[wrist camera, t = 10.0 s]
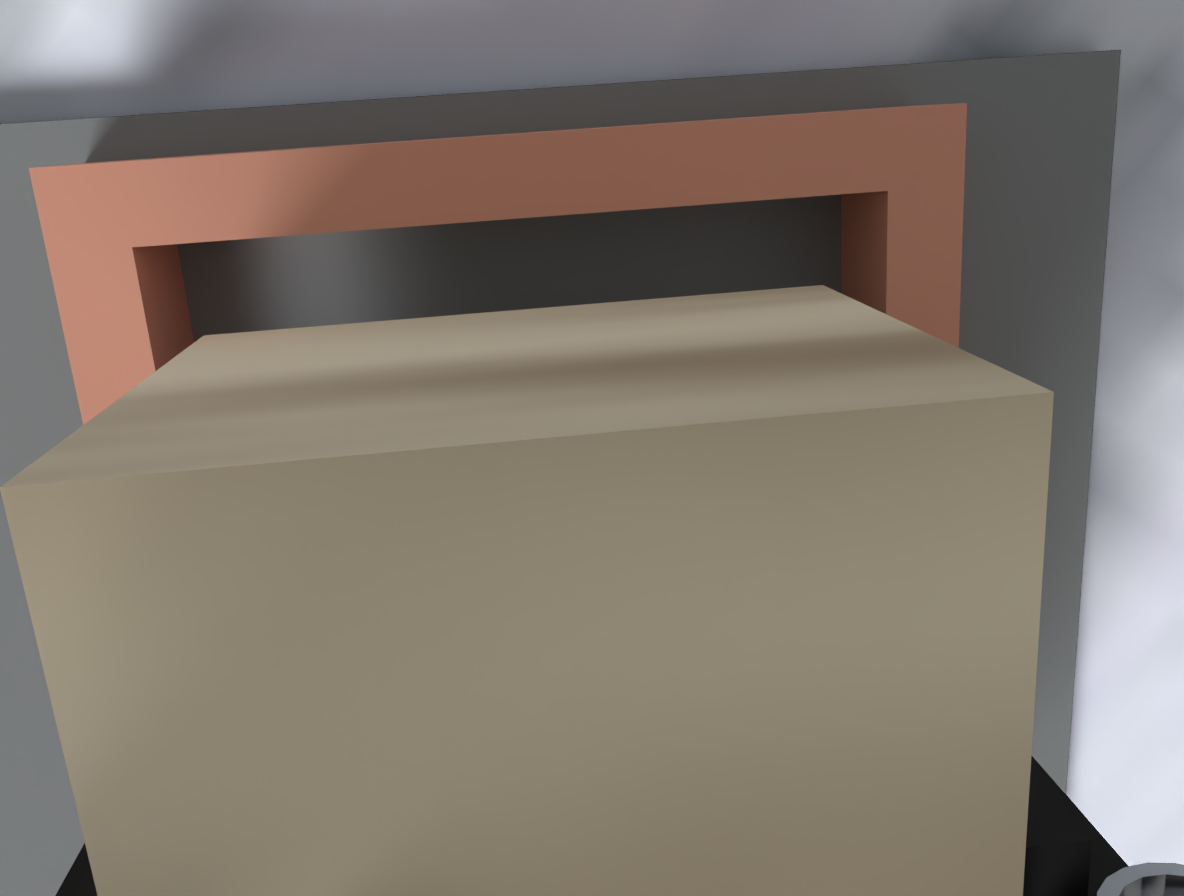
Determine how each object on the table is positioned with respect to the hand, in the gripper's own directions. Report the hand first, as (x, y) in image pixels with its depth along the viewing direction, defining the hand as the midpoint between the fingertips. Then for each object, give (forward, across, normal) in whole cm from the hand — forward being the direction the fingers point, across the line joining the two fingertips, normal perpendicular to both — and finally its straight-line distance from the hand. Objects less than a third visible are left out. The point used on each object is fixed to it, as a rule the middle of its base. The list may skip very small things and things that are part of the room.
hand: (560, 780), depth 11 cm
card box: (0, 0, 0) cm, 0 cm away
